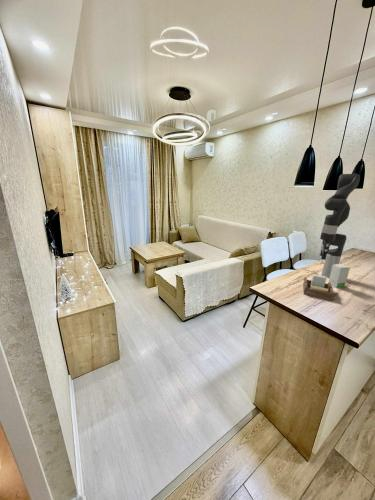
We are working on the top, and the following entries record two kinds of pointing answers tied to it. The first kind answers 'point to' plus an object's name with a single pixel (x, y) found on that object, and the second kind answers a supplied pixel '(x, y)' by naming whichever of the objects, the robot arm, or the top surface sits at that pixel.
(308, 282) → the rack
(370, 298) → the top surface
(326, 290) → the offcut upper
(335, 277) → the skincare box
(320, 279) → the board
